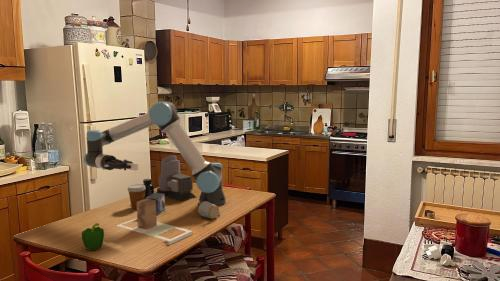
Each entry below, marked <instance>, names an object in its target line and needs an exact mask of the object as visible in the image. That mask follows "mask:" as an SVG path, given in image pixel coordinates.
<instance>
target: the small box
mask: <svg viewBox="0 0 500 281" xmlns="http://www.w3.org/2000/svg"><path fill="white" fill-rule="evenodd" d="M165 197H166V196H165V194H161V193H156V192H154V193H153V194H152V195H150V196H148V197H146V198H145V199H150V200H155V201H156V217H158V216H159V215H160V214H162V213H163V212H166V198H165Z"/></svg>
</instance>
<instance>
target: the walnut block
mask: <svg viewBox="0 0 500 281" xmlns="http://www.w3.org/2000/svg"><path fill="white" fill-rule="evenodd" d="M136 214H137V215H136V218H137V226H138V227H139V228H142V229H146V230H148V229H150V228H153V227H155V226H157V222H158V220H157V216H156V201H155V200H150V199H144V200H141V201H138V202H137V209H136Z"/></svg>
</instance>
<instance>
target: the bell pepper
mask: <svg viewBox="0 0 500 281" xmlns="http://www.w3.org/2000/svg"><path fill="white" fill-rule="evenodd" d="M81 239H82V243H83V245H84V248H85V249H86V250H88V251H97V250H99V249H100V248H102V247H103V242H104V239H105V230H104V228H102V227H100V223H98V222H97V223H95V224H93V225H92V226H91V228H89V227H87V228H86V229H84V230H82V232H81Z"/></svg>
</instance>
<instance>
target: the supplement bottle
mask: <svg viewBox="0 0 500 281" xmlns="http://www.w3.org/2000/svg"><path fill="white" fill-rule="evenodd" d="M142 181H143V182H142V185H145V187H146V189H145V194H144V199H145V198H146V197H148V196H150V195H152V194H153V193H155V187H154V184H153V181H152V178H144V179H142Z"/></svg>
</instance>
